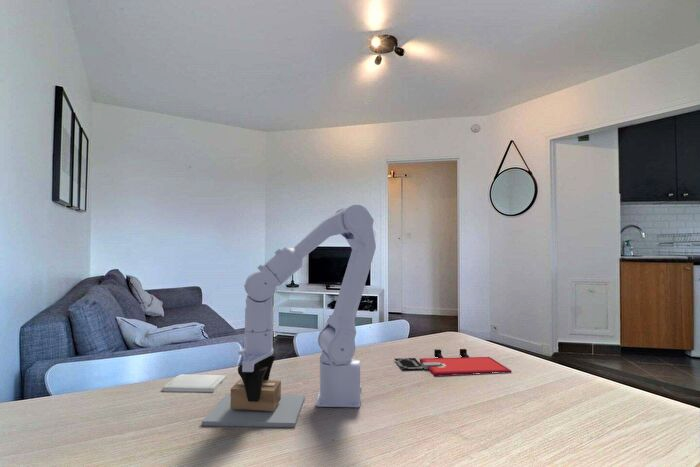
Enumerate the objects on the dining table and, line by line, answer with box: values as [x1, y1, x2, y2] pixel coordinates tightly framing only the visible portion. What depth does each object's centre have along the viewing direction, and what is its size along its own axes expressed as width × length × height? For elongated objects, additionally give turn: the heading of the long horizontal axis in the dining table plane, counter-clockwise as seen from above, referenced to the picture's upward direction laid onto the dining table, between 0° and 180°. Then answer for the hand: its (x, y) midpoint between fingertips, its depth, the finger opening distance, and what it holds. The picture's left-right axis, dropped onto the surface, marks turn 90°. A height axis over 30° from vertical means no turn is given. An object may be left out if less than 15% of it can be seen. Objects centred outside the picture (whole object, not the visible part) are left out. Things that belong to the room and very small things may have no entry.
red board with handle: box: [394, 348, 512, 377], centre depth 100 cm, size 30×3×15 cm
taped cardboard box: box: [230, 378, 282, 411], centre depth 71 cm, size 5×9×4 cm, turn 86°
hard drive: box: [161, 373, 228, 393], centre depth 84 cm, size 2×8×12 cm
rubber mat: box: [201, 393, 306, 428], centre depth 71 cm, size 18×12×1 cm, turn 89°
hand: (257, 394), depth 71 cm, fingers closed on taped cardboard box, 5 cm apart
